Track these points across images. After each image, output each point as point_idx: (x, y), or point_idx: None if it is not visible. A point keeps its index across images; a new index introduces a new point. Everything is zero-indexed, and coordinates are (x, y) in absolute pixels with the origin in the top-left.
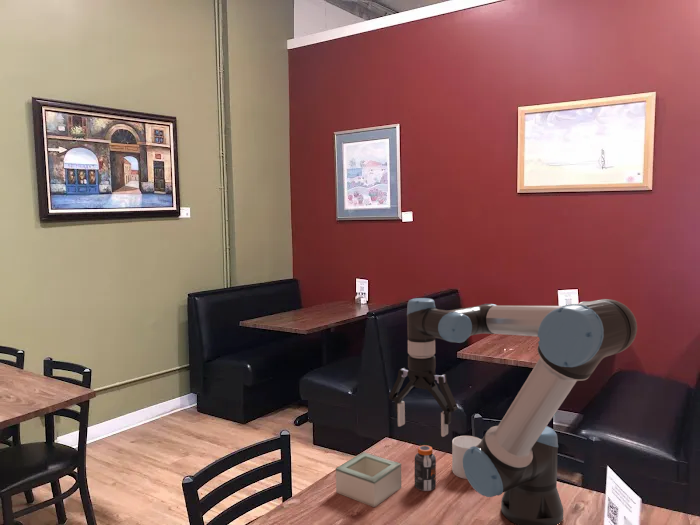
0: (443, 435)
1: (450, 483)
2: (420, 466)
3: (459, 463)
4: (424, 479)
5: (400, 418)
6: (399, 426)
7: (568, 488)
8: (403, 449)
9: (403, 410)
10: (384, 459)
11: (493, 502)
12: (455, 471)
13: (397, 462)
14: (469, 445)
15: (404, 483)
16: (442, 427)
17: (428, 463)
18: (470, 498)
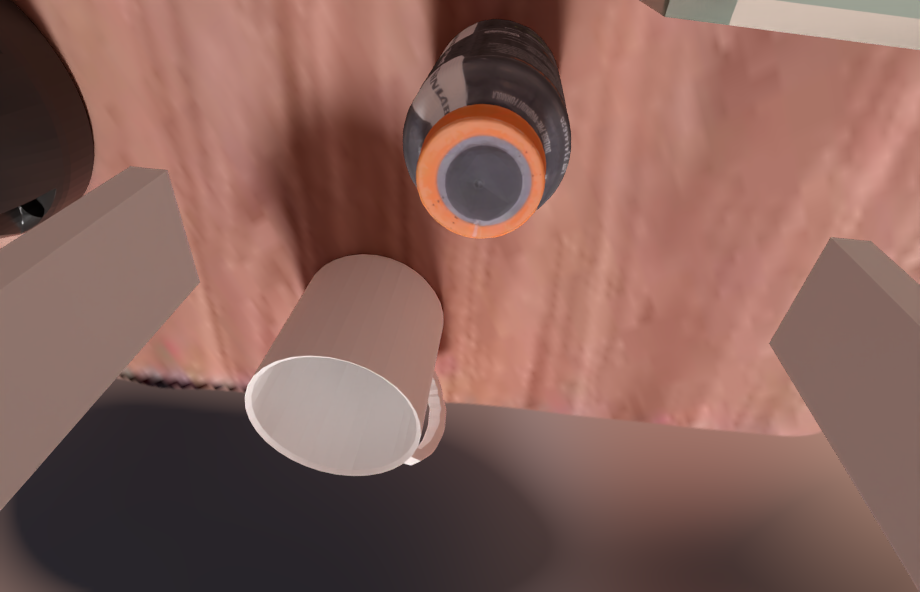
0: (122, 173)
1: (392, 183)
2: (492, 49)
3: (364, 294)
4: (468, 35)
5: (894, 326)
6: (841, 239)
7: None
8: (724, 385)
9: (900, 491)
10: (843, 17)
11: (130, 102)
12: (402, 273)
13: (704, 21)
14: (374, 431)
15: (624, 59)
16: (56, 231)
17: (428, 81)
18: (233, 83)
